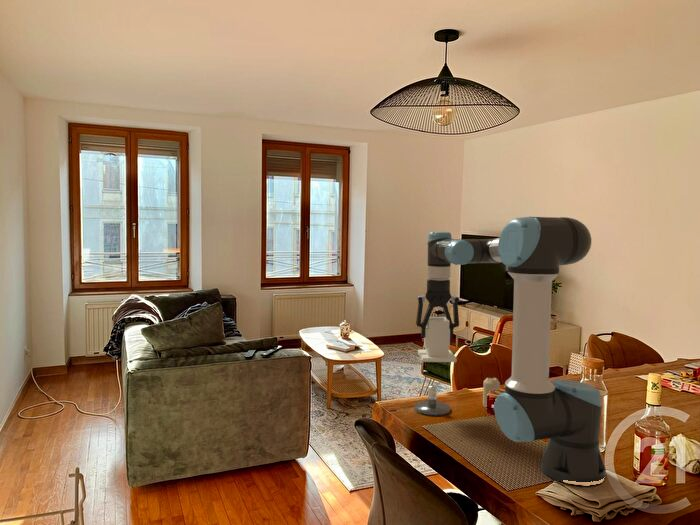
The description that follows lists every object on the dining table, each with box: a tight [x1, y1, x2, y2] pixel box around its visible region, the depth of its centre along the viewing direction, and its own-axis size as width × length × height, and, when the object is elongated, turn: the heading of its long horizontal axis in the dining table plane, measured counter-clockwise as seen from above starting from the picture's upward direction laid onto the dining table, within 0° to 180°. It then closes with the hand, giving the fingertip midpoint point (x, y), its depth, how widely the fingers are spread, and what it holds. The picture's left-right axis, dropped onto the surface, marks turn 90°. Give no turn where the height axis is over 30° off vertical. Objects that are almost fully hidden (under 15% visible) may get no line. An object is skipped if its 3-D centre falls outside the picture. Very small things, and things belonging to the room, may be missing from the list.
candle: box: [482, 377, 501, 409], centre depth 182 cm, size 6×6×10 cm
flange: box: [417, 316, 458, 363], centre depth 176 cm, size 11×11×13 cm
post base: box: [413, 384, 451, 417], centre depth 178 cm, size 12×12×8 cm
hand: (436, 347), depth 176 cm, fingers closed on flange, 7 cm apart
